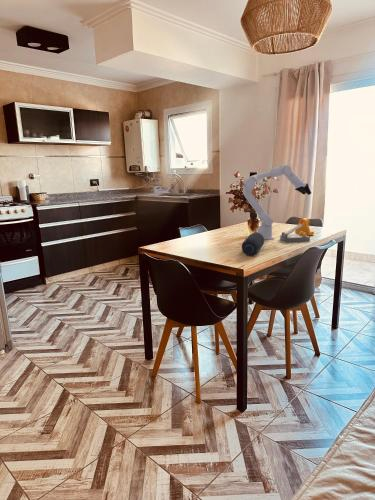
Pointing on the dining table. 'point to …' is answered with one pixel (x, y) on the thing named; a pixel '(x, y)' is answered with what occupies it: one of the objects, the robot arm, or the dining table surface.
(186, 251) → the dining table surface
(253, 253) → the portable speaker
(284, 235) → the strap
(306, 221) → the orange animal figurine
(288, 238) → the base block
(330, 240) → the dining table surface
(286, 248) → the dining table surface
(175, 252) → the dining table surface
